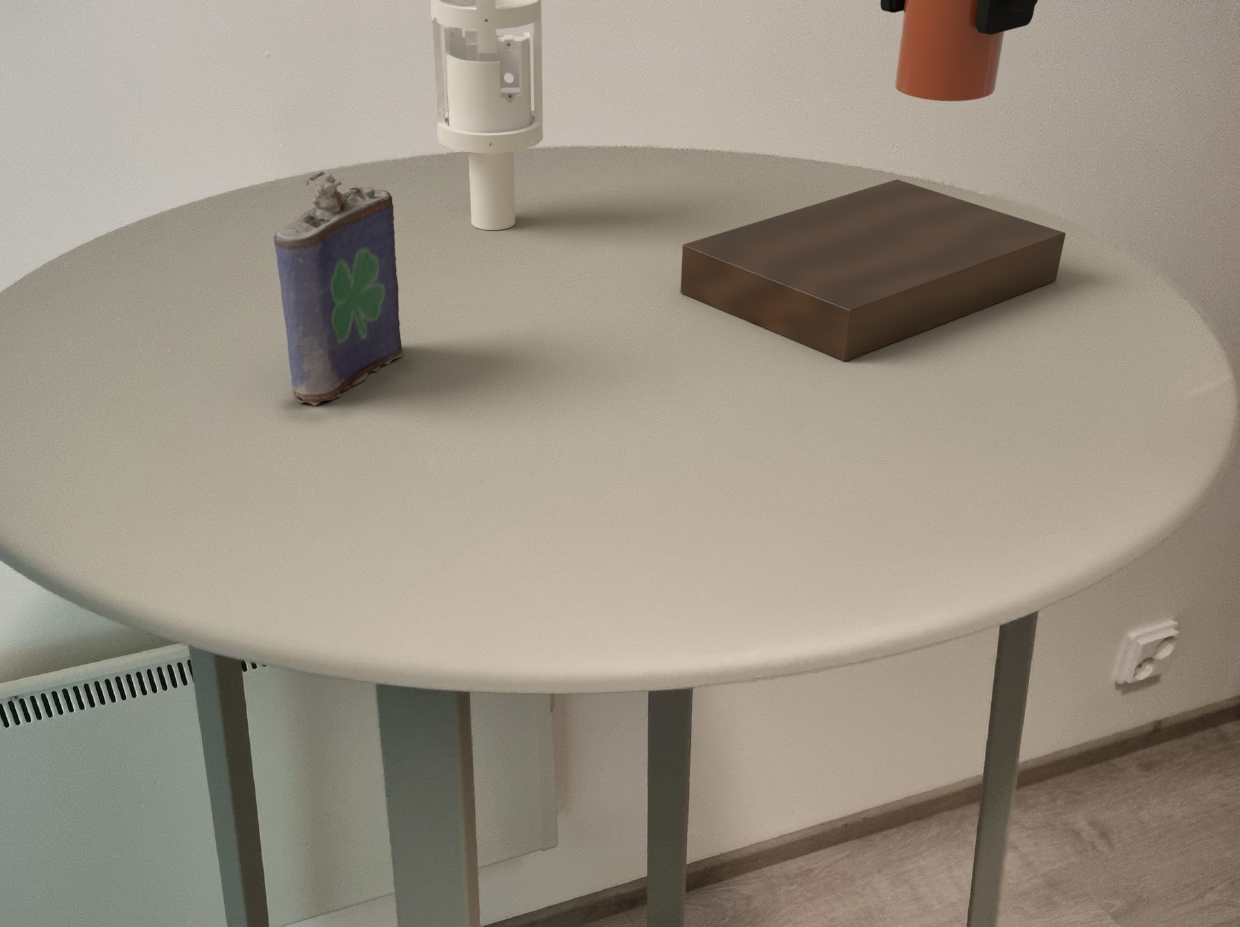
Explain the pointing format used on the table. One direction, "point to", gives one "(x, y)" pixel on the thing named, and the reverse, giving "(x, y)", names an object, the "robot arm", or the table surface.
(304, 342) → the flask
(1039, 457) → the table surface
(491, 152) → the white cylindrical fitting
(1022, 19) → the robot arm
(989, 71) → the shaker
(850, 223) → the board
